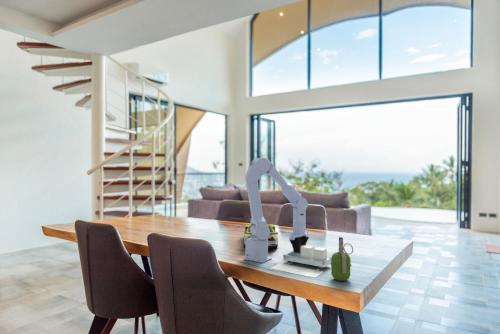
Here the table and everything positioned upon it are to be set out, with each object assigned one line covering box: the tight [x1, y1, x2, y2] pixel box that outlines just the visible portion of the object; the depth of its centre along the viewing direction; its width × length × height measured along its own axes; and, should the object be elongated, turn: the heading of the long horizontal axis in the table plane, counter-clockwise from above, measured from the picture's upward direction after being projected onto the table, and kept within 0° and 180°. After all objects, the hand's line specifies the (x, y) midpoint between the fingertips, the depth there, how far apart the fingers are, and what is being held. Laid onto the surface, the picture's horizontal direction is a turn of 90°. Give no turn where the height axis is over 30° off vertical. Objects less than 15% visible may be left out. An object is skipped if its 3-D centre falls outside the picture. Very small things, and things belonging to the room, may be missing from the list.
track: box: [270, 261, 324, 279], centre depth 129 cm, size 19×18×1 cm
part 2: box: [313, 246, 328, 261], centre depth 129 cm, size 4×4×5 cm
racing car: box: [243, 223, 279, 251], centre depth 172 cm, size 17×39×12 cm, turn 179°
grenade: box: [329, 236, 354, 282], centre depth 114 cm, size 7×8×15 cm
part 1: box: [301, 244, 315, 259], centre depth 133 cm, size 4×4×5 cm
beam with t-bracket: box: [282, 251, 331, 270], centre depth 135 cm, size 18×14×3 cm
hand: (299, 253), depth 146 cm, fingers open, 4 cm apart
